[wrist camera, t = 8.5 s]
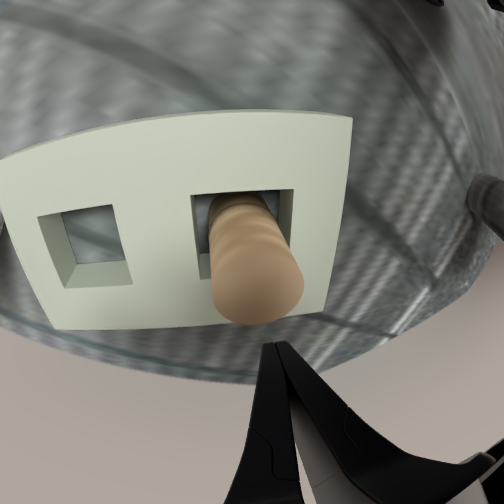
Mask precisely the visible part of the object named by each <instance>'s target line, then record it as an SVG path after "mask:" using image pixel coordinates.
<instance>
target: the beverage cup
mask: <svg viewBox="0 0 504 504" xmlns="http://www.w3.org/2000/svg"><path fill="white" fill-rule="evenodd" d="M468 206H469V209H470V210H471V211H473V212H474V213H475V214H476V215H477V216H478V217H479V219H481V220H482V221H483V222H484V223H485V224H486V225H487V226H488V227H489V228H491V229H492V230H493V231H494V232H495V233H496V234H497V235H498V236H499V237H500V238H501V239H502V240H503V241H504V181H503V180H501V179H499V178H497V177H493V176H490V175H488V174H486V173H480V174H478V175H477V176H476V177H475V179H474V180H473V182H472V184H471V186H470V189H469V193H468Z"/></svg>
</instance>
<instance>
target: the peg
mask: <svg viewBox="0 0 504 504" xmlns="http://www.w3.org/2000/svg"><path fill="white" fill-rule="evenodd" d="M208 220H209V232H208V241H209V246H210V265H211V282H212V298H213V303H214V305H215V307H216V309H217V311H218V312H219V313H220V314H221V315H222V316H223V317H225V318H226V319H228V320H230V321H232V322H234V323H237V324H242V325H262V324H266V323H270V322H273V321H275V320H278V319H280V318H282V317H283V316H285V315H286V314H288V313H289V312H290V311H291V310H292V309H293V308H294V307H295V306H296V305H297V304H298V302H299V301H300V299H301V297H302V294H303V291H304V278H303V275H302V273H301V271H300V269H299V267H298V265H297V263H296V261H295V259H294V257H293V255H292V253H291V251H290V249H289V247H288V245H287V243H286V241H285V239H284V237H283V235H282V233H281V231H280V229H279V227H278V223H277V221H276V219H275V218H274V216H273V215H272V213H271V212H270V210H269V208H268V206H267V204H266V202H265V200H264V199H263V197H262V196H261V195H260V194H259V193H258V192H256V191H255V190H254V191H236V192H221V193H219V194H218V195H217V196H216V197H215V198H214V200H213V201H212V203H211V205H210V208H209V213H208Z"/></svg>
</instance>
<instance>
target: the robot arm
mask: <svg viewBox="0 0 504 504" xmlns="http://www.w3.org/2000/svg"><path fill="white" fill-rule="evenodd" d="M427 1H429V2H431V3H433V4H435V5H436V6H439V7H440V6H444V1H443V0H427ZM487 3H488V4H489V6H490V7H491V9H494V10H498V11H501V12H504V0H487ZM295 443H296V445H297V448H298V451H299V454H300V457H301V460H302V463H303V466H304V469H305V471H306V474H307V477H308V480H309V483H310V486H311V488H312V491H313V494H314V497H315V500H316V503H317V504H504V438H503V439H501V440H500V441H498V442H497V443H496V444H494V445H493V446H492V447H491V448H489V449H488V450H487V451H485V452H484V453H482V452H479V453H476V454H474V455H473V456H471V457H470V458H468V459H466V460H464V461H462V462H461V463H459V464H451V463H446V462H441V461H436V460H431V459H427V458H422V457H418V456H414V455H411V454H409V453H407V452H405V451H403V450H401V449H400V448H398V447H397V446H395V445H394V444H393V443H391V442H390V441H389V440H387V439H386V438H385V437H383V436H382V435H380V434H379V433H378V432H377V431H375V430H374V429H373V428H372V427H370V426H369V425H368V424H367V423H365V422H364V421H363V420H362V419H361V418H360V417H359V416H358V415H357V414H356V413H355V412H354V411H353V410H352V409H351V408H350V407H348V405H347V404H346V403H345V402H344V401H343V400H342V399H341V398H340V397H339V396H338V395H337V394H336V393H335V392H334V391H333V390H332V389H331V388H330V387H329V386H328V384H327V383H326V382H325V381H324V380H323V379H322V378H321V377H320V376H319V375H318V374H317V373H316V372H315V371H314V370H313V369H312V368H311V367H310V365H309V364H308V363H307V362H306V361H305V360H304V359H303V358H302V357H301V356H300V355H299V354H298V353H297V352H296V350H295V349H294V348H293V347H292V346H291V345H290V344H289V343H288V342H287V341H277V342H275V343H273V342H270V343H264V344H263V346H262V351H261V358H260V364H259V370H258V376H257V382H256V389H255V394H254V400H253V406H252V411H251V417H250V422H249V428H248V433H247V438H246V443H245V447H244V451H243V454H242V457H241V461H240V464H239V466H238V469H237V472H236V474H235V477H234V479H233V482H232V484H231V487H230V490H229V492H228V495H227V497H226V499H225V502H224V504H305V503H304V500H303V496H302V491H301V486H300V482H299V481H300V478H299V471H298V463H297V456H296V448H295Z"/></svg>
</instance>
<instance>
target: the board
mask: <svg viewBox="0 0 504 504" xmlns="http://www.w3.org/2000/svg"><path fill="white" fill-rule="evenodd" d="M352 122H353V118H351V117H346V116H342V115H338V114H333V113H327V112H315V111H300V110H274V109H241V110H216V111H201V112H189V113H179V114H170V115H162V116H154V117H148V118H141V119H135V120H129V121H124V122H119V123H114V124H109V125H104V126H100V127H95V128H91V129H87V130H83V131H79V132H75V133H71V134H68V135H64V136H61V137H57V138H54V139H51V140H48V141H45V142H42V143H39V144H36V145H33V146H30V147H27V148H24V149H22V150H19V151H16V152H14V153H12V154H10V155H8V156H6V157H4V158H2V159H0V208H1V211H2V214H3V217H4V220H5V223H6V226H7V229H8V232H9V235H10V238H11V240H12V243H13V246H14V248H15V251H16V253H17V256H18V258H19V260H20V263H21V265H22V267H23V269H24V272H25V274H26V276H27V278H28V280H29V282H30V284H31V287H32V289H33V291H34V293H35V294H36V296H37V298H38V300H39V302H40V304H41V306H42V308H43V309H44V311H45V313H46V315H47V317H48V318H49V320H50V322H51V323H52V325H53V327H54V328H55V329H69V330H123V329H153V328H173V327H189V326H202V325H214V324H225V323H234V322H232V321H230V320H228V319H226V318H225V317H223V316H222V315H221V314H220V313H219V312H218V311H217V309H216V307H215V305H214V303H213V298H212V282H211V265H210V253H205V254H200V249H199V240H198V231H197V222H196V212H195V201H194V195H196V194H208V193H221V192H236V191H254V190H276V189H280V198H279V220H278V227H279V229H280V231H281V233H282V235H283V237H284V239H285V241H286V243H287V245H288V247H289V249H290V251H291V253H292V255H293V257H294V259H295V261H296V263H297V265H298V267H299V269H300V271H301V273H302V275H303V278H304V291H303V294H302V297H301V299H300V301H299V302H298V304H297V305H296V306H295V307H294V308H293V309H292V310H291V311H290V312H289V313H288V314H286V315H285V316H283V317H286V316H294V315H301V314H308V313H314V312H320V311H323V309H324V305H325V300H326V296H327V291H328V287H329V282H330V277H331V272H332V267H333V262H334V257H335V252H336V246H337V241H338V235H339V229H340V223H341V217H342V210H343V204H344V197H345V189H346V182H347V173H348V165H349V156H350V146H351V135H352ZM108 204H113V209H114V214H115V218H116V222H117V226H118V231H119V235H120V239H121V242H122V246H123V250H124V254H125V257H126V260H123V261H111V262H100V263H88V264H77V262H76V259H75V256H74V253H73V251H72V248H71V245H70V242H69V239H68V236H67V233H66V229H65V226H64V223H63V219H62V216H61V212H65V211H70V210H76V209H82V208H89V207H95V206H102V205H108Z"/></svg>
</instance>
